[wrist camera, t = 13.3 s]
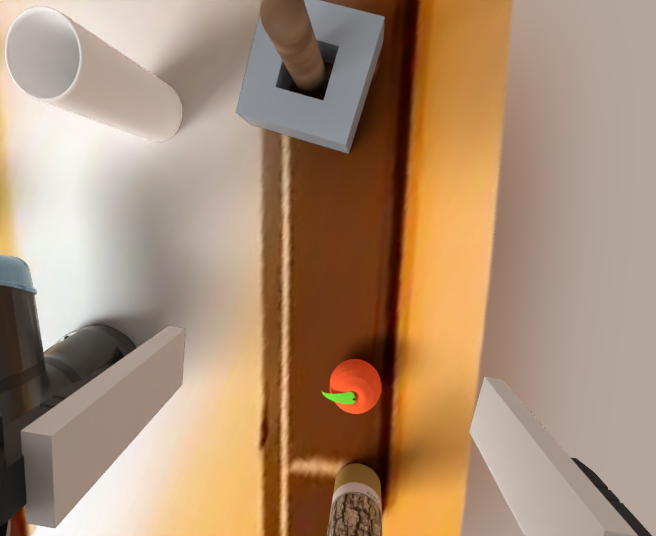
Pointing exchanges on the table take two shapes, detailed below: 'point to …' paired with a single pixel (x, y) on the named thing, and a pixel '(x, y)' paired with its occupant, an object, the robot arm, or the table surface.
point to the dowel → (296, 44)
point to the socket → (343, 88)
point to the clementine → (354, 386)
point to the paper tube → (356, 503)
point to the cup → (88, 76)
